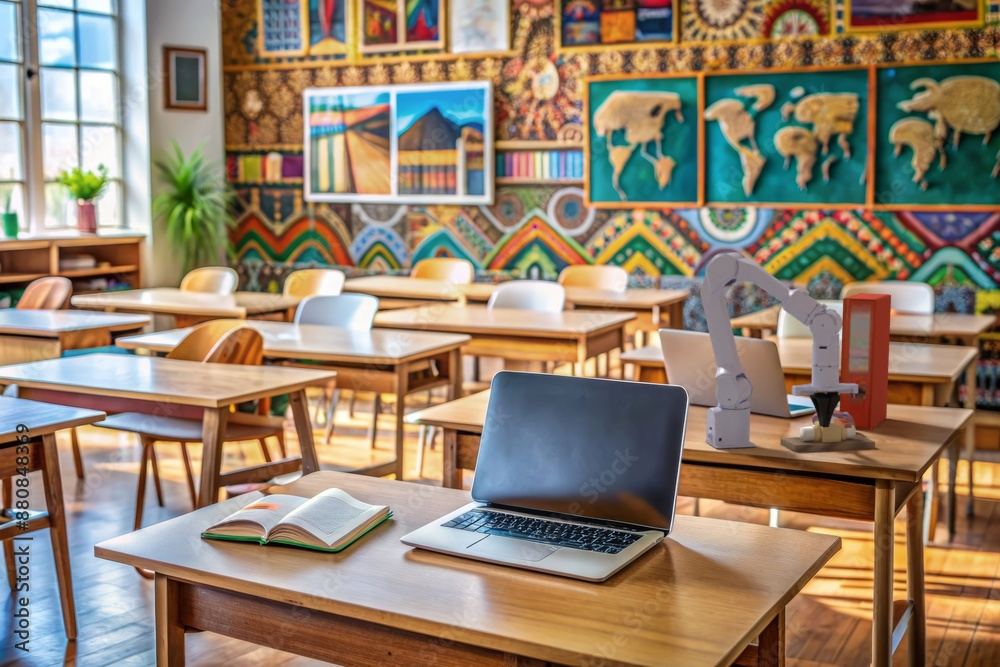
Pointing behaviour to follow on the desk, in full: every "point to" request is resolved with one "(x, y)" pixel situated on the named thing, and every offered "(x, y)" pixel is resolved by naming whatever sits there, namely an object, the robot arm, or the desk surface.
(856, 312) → the file binder
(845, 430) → the pipe valve
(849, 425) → the valve lever
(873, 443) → the board
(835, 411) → the video game controller
